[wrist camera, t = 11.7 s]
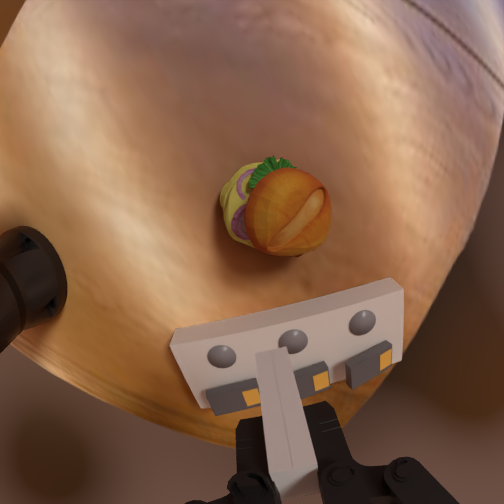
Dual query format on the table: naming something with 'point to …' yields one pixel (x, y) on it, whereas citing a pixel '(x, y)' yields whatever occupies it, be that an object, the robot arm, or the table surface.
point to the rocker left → (234, 397)
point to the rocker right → (368, 364)
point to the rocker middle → (312, 379)
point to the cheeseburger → (276, 208)
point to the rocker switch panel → (292, 336)
